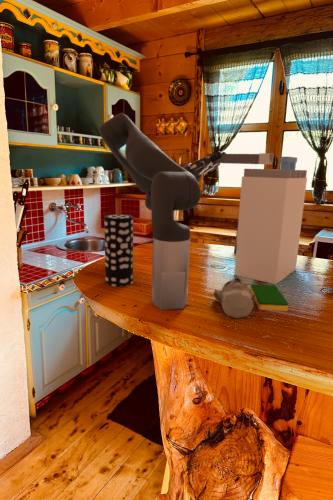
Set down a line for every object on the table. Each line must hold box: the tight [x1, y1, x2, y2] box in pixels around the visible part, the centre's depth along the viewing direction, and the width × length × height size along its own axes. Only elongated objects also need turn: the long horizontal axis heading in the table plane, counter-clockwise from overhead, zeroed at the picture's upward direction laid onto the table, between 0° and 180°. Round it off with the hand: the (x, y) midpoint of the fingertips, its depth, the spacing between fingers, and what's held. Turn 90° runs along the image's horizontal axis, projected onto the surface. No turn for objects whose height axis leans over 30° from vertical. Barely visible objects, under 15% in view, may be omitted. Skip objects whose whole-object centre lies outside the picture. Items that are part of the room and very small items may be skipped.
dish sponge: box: [249, 283, 289, 312], centre depth 92 cm, size 7×14×2 cm, turn 176°
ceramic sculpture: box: [213, 277, 255, 319], centre depth 84 cm, size 11×9×15 cm
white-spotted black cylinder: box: [103, 214, 134, 287], centre depth 100 cm, size 8×8×20 cm
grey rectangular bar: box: [206, 152, 274, 166], centre depth 110 cm, size 22×3×3 cm, turn 53°
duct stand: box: [233, 156, 308, 285], centre depth 112 cm, size 14×20×38 cm
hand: (223, 154), depth 113 cm, fingers closed on grey rectangular bar, 3 cm apart
